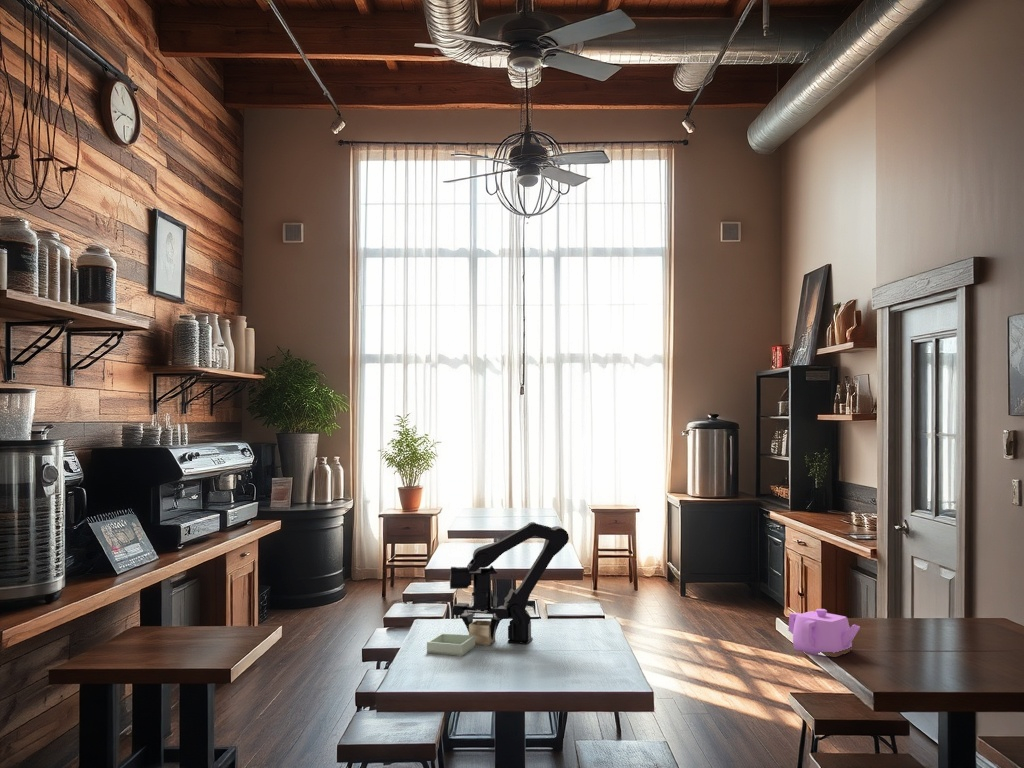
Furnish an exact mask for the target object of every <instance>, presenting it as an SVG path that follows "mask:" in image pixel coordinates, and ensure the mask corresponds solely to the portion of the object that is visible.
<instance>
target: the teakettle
mask: <svg viewBox="0 0 1024 768" xmlns="http://www.w3.org/2000/svg"><path fill="white" fill-rule="evenodd" d="M860 629H861V626H860V625H858V624H852V625H851V626H850V623H849V620H848V617H847V616H846V615H845V616H844V615H839V614H835V613H830V612H828V610H827V609H825V608H816V609H815V611H814V610H811V611H806V612H803V613H800V612H791V613H789V617H788V630H787V631H789V633H791V634H792V645H793V647H794V650H796V651H798V652H802V653H805V652H806V653H805V654H810V655H815V656H819V655H818V653H820V652H833V653H835V652H839V651H842V650H845V649H848V648H850V647H852V646H853V640H854V638H855V636H856V635H857V633H858V632H859V630H860ZM852 648H853V647H852Z"/></svg>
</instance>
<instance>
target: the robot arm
mask: <svg viewBox="0 0 1024 768" xmlns="http://www.w3.org/2000/svg"><path fill="white" fill-rule="evenodd" d="M533 537H538V538H541V539H544V543H543V546H542V550H541V551H540V552H539V555H538V556H537V557H536V559H535V561H534V562H533V564H532V566H531V567H530V569H529V570H528V572H527V573H526V575H525V576H524V578H523V579H522V582H521V583H520V585H519V586H518V587H517V588H516V589H515V590H514V589H513V588H510V590H509V591H508V594H507V595H506V597H504V604H503V605H500V606H498V607H497V604H498V596H496V595H494V594H493V593H494V592H493V590H492V575H497V574H498V570H496V569H495V568H494V566H493V565H491V564H493V563H494V562H495V561H496V560H498V558H499V557H500V556H502V554H504V553H506V552H508V551H509V550H511V549H513V548H514V547H518V545H520V544H522V543H523V542H526V541H527V540H529V539H531V538H533ZM569 537H570V535H569V533H568V532H567V530H566V529H564V528H563V527H561V526H557V525H556V526H552V527H551V526H548V525H544V524H540V523H539V524H538V523H537V522H534V521H531V522H528V523H527V524H526V525H524V526H522V527H521V528H519V529H517V530H515V531H514V532H512V533H511V534H509V535H506V536H505V537H502V538H501V539H500V540H498V541H495V542H493V543H488V544H485V545H482V546H479V547H477V548H476V549H474V551H473V553H472V558H471V560H470V561H469V563H468V564H467V566H458V567H457V566H451V567H450V575H449V589H450V590H456V589H457V590H462V589H464V590H465V589H466V590H467V589H469V587H470V586H473V587H472V589H473V591H472V592H471V597H472V601H473V602H472V606H470V603H468V602H467V603H465V602H458V603H456V604H454V605H453V606H452V608H451V616H458V618H459V619H461V620H462V621H463V622H462V623H464V625H465V628H466V629H467V632H468V633H469V624H471V623H472V622H474V614H484V615H493V617H492V618H491V619H490V621H491V639H492V640H493V639H494V636H495V637H496V634H497V629H498V626H499V624H500V622H501V621H502V620H505V619H506V620H507V619H509V618H511V620H509V625H508V626H507V639H508V640H507V643H510V644H511V643H515V644H523V645H524V644H525V645H527V644H529V643H530V642H531V641H532V640H533V637H532V620H531V619H532V617H531V615H530V613H529V612H528V611H527V610H526V608H527V606H528V603H529V602H528V601H529V599H530V595H531V594H532V592H533V590H534V588H535V587H536V586H537V583H538V582H539V581H540V579H541V577H542V576H543V574H544V573H545V571H546V570H547V568H548V566H549V564H550V563H551V561H552V560H553V558H554V557H555V555H557V554H558V553H560V551H561V550H562V549H564V547H566V545H567V544H568V542H569V539H570V538H569ZM472 581H473V582H472ZM472 583H473V585H472Z"/></svg>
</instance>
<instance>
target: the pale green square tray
mask: <svg viewBox="0 0 1024 768" xmlns="http://www.w3.org/2000/svg"><path fill="white" fill-rule="evenodd" d="M475 647H476V645H475V636H469V634H468V635H467V634H457V633H456V634H455V633H453V634H452V633H440V634H438V635H436V636H434V637H433V638H432V639H430V640H428V641H426V653H427V654H435V655H445V656H456V657H462V656H463V655H466V653H468V652H469V651H471V650H472V649H474V648H475Z"/></svg>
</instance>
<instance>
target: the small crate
mask: <svg viewBox="0 0 1024 768" xmlns="http://www.w3.org/2000/svg"><path fill="white" fill-rule="evenodd" d="M468 635H469V636H475V646H476V645H477V646H488V647H489V646H491V643H492V644H493V643H494V642H496V635H495V636H494V639H493V640H492V639H491V620H481V619H480V620H479V619H476V620H473V622H472V623H471V624H469V632H468Z"/></svg>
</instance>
